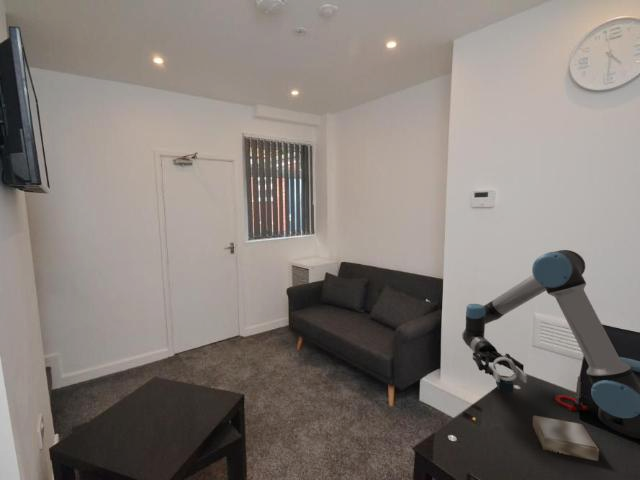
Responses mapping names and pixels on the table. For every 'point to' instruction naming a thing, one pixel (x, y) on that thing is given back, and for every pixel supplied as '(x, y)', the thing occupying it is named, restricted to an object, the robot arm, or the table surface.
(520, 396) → the table surface
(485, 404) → the table surface
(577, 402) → the tow hook
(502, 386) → the watch
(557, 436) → the plate
